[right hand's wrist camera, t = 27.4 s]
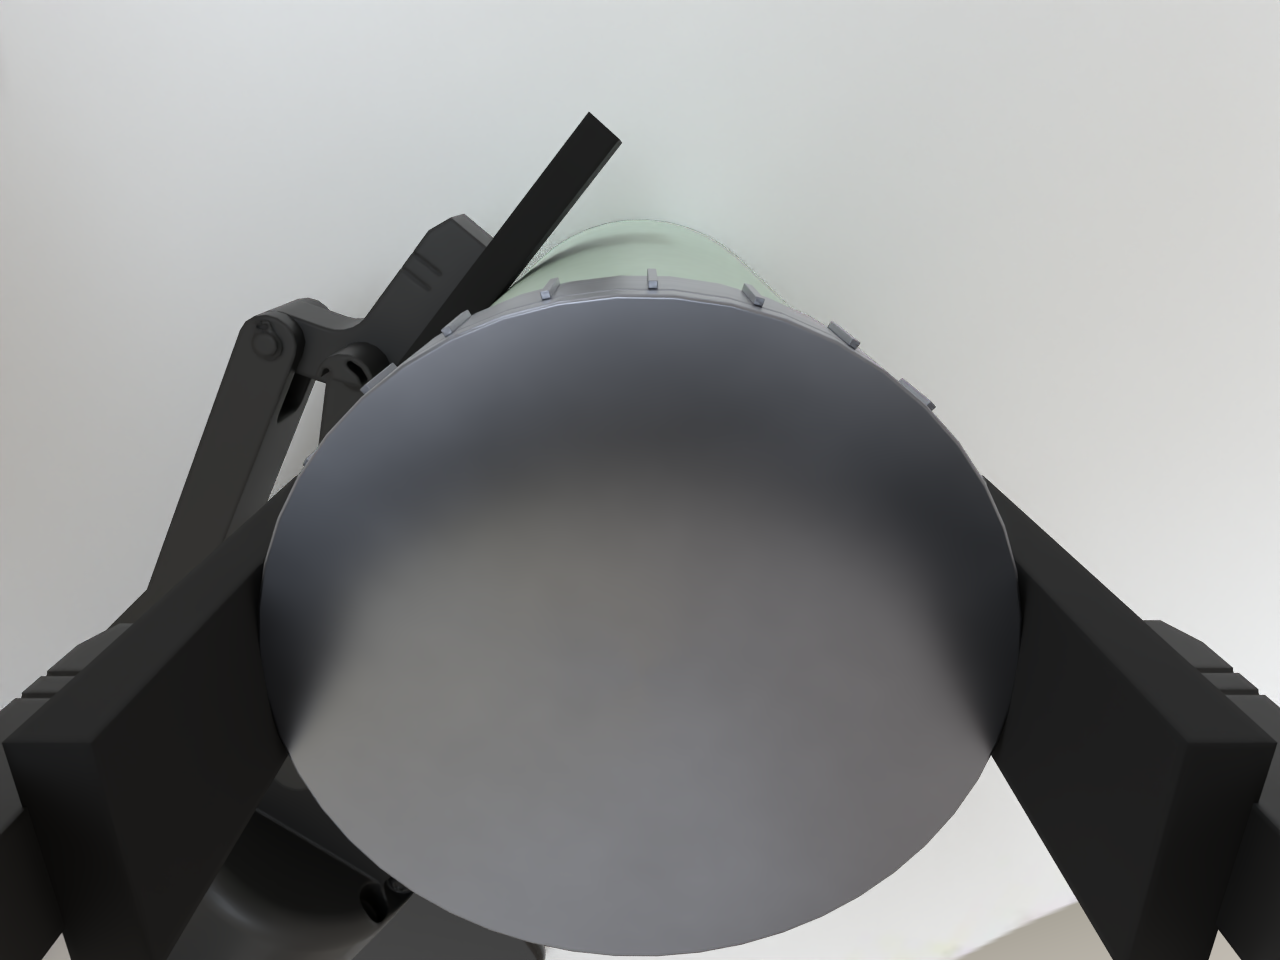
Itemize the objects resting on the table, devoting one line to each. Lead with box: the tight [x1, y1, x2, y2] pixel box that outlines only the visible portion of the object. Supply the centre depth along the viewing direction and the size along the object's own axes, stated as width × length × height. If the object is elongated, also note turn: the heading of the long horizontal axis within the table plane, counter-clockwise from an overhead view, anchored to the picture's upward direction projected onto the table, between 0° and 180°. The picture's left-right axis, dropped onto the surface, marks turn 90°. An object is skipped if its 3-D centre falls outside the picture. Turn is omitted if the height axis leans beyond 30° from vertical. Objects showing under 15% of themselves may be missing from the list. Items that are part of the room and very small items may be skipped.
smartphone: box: [352, 893, 546, 960], centre depth 32 cm, size 8×1×16 cm
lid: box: [258, 268, 1022, 956], centre depth 11 cm, size 9×9×2 cm
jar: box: [490, 220, 791, 308], centre depth 19 cm, size 9×9×16 cm
